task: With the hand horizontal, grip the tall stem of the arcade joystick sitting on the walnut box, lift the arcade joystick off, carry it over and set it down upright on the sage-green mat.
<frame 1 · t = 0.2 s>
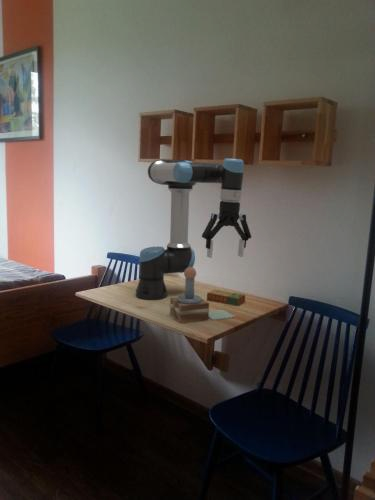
hand: (225, 256, 161), 27 cm above the table, tool pointing down, fingers open, 13 cm apart
mat: (218, 315, 177), on the table
carton: (225, 302, 197), on the table
arcade joystick: (189, 300, 172), point 7 cm above the table, touching box
box: (188, 316, 174), on the table
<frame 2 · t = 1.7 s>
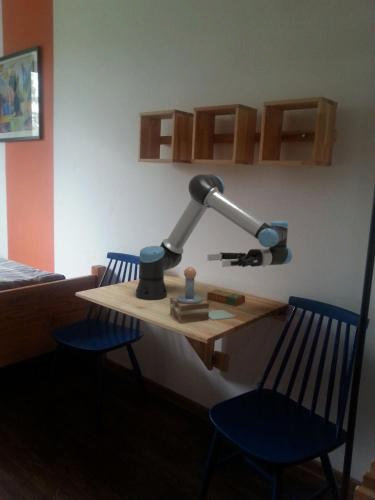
hand: (215, 260, 174), 23 cm above the table, tool horizontal, fingers open, 13 cm apart
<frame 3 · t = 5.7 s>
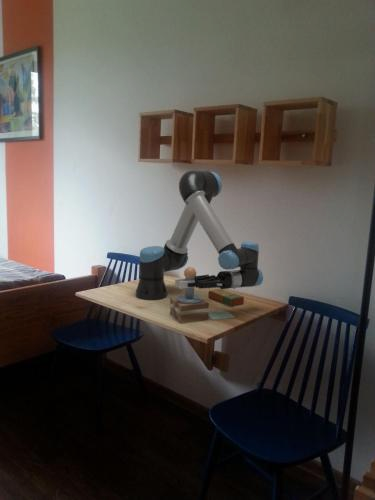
hand: (177, 283, 169), 14 cm above the table, tool horizontal, fingers closed on arcade joystick, 4 cm apart
arcade joystick: (189, 300, 172), point 7 cm above the table, touching box, gripper
when the fingers open (9 cm above the table, at t = 10.1 s): arcade joystick drops 2 cm, resting on mat.
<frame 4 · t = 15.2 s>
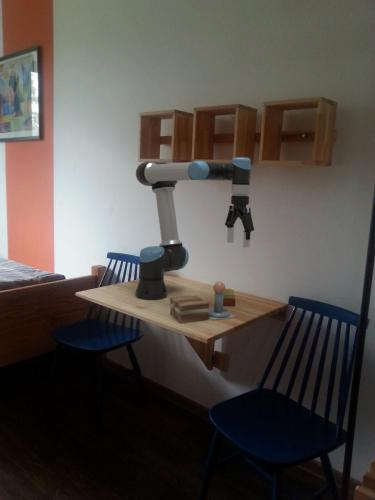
hand: (237, 245, 181), 29 cm above the table, tool pointing down, fingers open, 13 cm apart
arcade joystick: (218, 314, 177), resting on mat
at the end: arcade joystick 0.1 cm from the mat (horizontally); arcade joystick resting on mat; arcade joystick tilted 0° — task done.
